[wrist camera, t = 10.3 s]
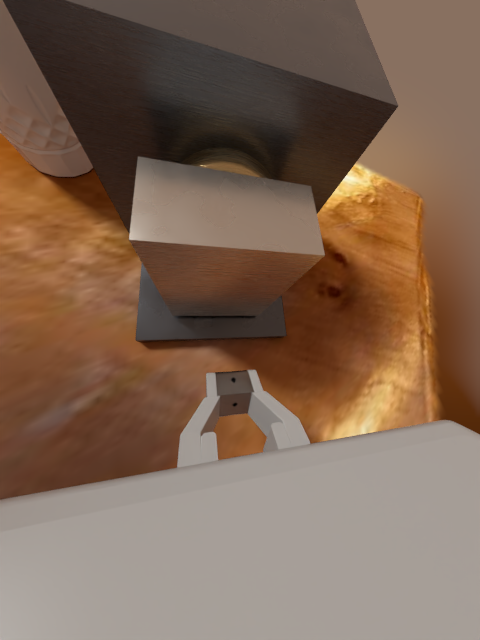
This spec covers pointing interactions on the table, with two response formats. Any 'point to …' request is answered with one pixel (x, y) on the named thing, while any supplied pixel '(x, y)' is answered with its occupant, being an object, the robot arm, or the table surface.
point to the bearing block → (211, 102)
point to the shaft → (221, 232)
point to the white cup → (34, 109)
